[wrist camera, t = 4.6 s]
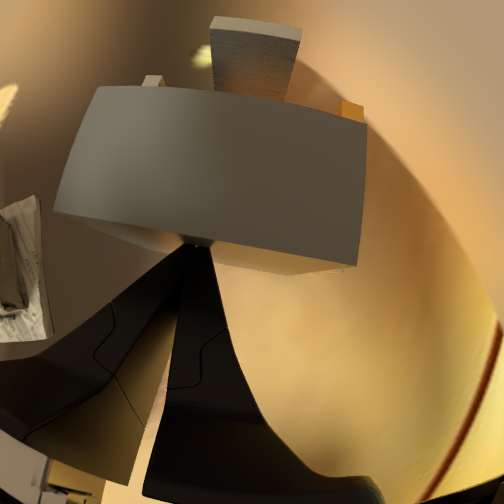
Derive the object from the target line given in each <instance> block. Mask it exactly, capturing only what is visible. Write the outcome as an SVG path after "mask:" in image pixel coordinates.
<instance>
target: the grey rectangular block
mask: <svg viewBox="0 0 504 504" xmlns="http://www.w3.org/2000/svg"><path fill="white" fill-rule="evenodd" d="M366 146H367V124H365V123H362V122H358V121H355V120H352V119H348V118H345V117H342V116H338V115H334V114H331V113H327V112H323V111H319V110H315V109H311V108H307V107H303V106H299V105H294V104H290V103H285V102H280V101H275V100H270V99H264V98H259V97H253V96H247V95H240V94H233V93H226V92H218V91H208V90H199V89H187V88H173V87H155V86H102V87H98V89H97V91H96V93H95V95H94V97H93V99H92V101H91V103H90V105H89V108H88V110H87V112H86V115H85V117H84V119H83V122H82V124H81V126H80V129H79V131H78V134H77V136H76V139H75V141H74V144H73V147H72V149H71V152H70V155H69V158H68V161H67V164H66V167H65V170H64V173H63V176H62V179H61V183H60V186H59V189H58V193H57V196H56V200H55V203H54V207H53V211H54V212H56V213H58V214H61V215H63V216H66V217H68V218H71V219H73V220H75V221H78V222H80V223H83V224H85V225H88V226H90V227H93V228H95V229H97V230H100V231H103V232H105V233H108V234H110V235H113V236H115V237H118V238H120V239H123V240H125V241H128V242H130V243H133V244H136V245H138V246H141V247H143V248H146V249H149V250H153V251H158V252H163V253H168V254H170V253H172V252H173V251H174V250H175V249H177V248H178V247H179V246H181V245H182V244H184V243H186V244H191V245H196V247H197V246H202V247H208V248H210V250H211V254H212V259H213V262H215V263H220V264H226V265H231V266H237V267H242V268H248V269H253V270H259V271H264V272H270V273H275V274H281V275H294V274H302V273H310V272H318V271H326V270H333V269H341V268H348V267H355V266H357V258H358V251H359V242H360V233H361V224H362V213H363V201H364V188H365V171H366Z"/></svg>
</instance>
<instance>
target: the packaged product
mask: <svg viewBox="0 0 504 504" xmlns="http://www.w3.org/2000/svg"><path fill="white" fill-rule="evenodd" d="M54 334H55V331H54V326H53V321H52V316H51V312H50V306H49V300H48V295H47V288H46V281H45V273H44V263H43V252H42V238H41V200H39V199H38V198H37V197H36V196H34V195H33V196H31V197H29V198H27V199H25V200H22V201H19V202H15V203H13V204H11V205H9V206H7V207H5V208H4V209H2V210H0V343H1V342H16V341H32V340H41V339H47V338H49V337H50V336H52V335H54Z"/></svg>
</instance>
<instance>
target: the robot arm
mask: <svg viewBox="0 0 504 504" xmlns="http://www.w3.org/2000/svg"><path fill="white" fill-rule="evenodd" d="M171 350H172V355H171V362H170V369H169V376H168V384H167V392H166V400H165V405H164V410H163V414H162V418H161V421H160V425H159V428H158V432H157V435H156V439H155V442H154V446H153V449H152V453H151V457H150V460H149V464H148V468H147V472H146V475H145V479H144V483H143V489H142V495H143V496H145V497H148V498H152V499H155V500H159V501H163V502H168V503H172V504H385V500H384V497H383V495H382V493H381V491H380V490H379V489H378V487H377V486H376V484H375V483H374V482H373V480H372V479H371V478H370V477H369V476H346V477H327V476H324V475H320V474H318V473H316V472H314V471H313V470H312V469H310V468H309V467H308V466H307V465H306V464H305V463H304V462H303V461H302V460H301V459H300V458H299V457H298V456H297V455H296V454H295V453H294V452H293V451H292V450H291V449H290V448H289V447H288V446H287V445H286V443H285V442H284V441H283V440H282V439H281V438H280V437H279V436H278V435H277V434H276V433H275V432H274V430H273V429H272V428H271V427H270V426H269V424H268V423H267V422H266V420H265V418H264V417H263V415H262V413H261V411H260V409H259V407H258V405H257V403H256V401H255V399H254V397H253V394H252V392H251V390H250V388H249V385H248V383H247V381H246V379H245V376H244V374H243V372H242V370H241V367H240V364H239V362H238V359H237V357H236V354H235V351H234V347H233V344H232V340H231V337H230V332H229V329H228V325H227V321H226V316H225V312H224V308H223V304H222V299H221V295H220V291H219V286H218V282H217V277H216V273H215V268H214V264H213V259H212V254H211V250H210V248H208V247H202V246H197V247H196V245H191V244H186V243H184V244H182V245H181V246H179V247H178V248H177V249H175V250H174V251H173V252H172V253H170V254H169V255H168V256H166V257H165V258H164V259H163V260H161V261H160V262H159V263H158V264H156V265H155V266H154V267H152V268H151V269H150V270H149V271H148V272H146V273H145V274H144V275H143V276H141V277H140V278H139V279H138V280H136V281H135V282H134V283H132V284H131V285H130V286H129V287H128V288H126V289H125V290H124V291H123V292H121V293H120V294H119V295H118V296H117V297H115V298H114V299H113V300H112V301H111V303H108V304H107V305H106V306H105V307H103V308H102V309H101V310H100V311H98V312H97V313H96V314H95V315H93V316H92V317H91V318H90V319H88V320H87V321H85V322H84V323H83V324H81V325H80V326H79V327H77V328H76V329H74V330H73V331H71V332H70V333H68V334H67V335H66V336H64V337H63V338H61V339H60V340H58V341H57V342H55V343H54V344H53V345H51V346H50V347H48V348H47V349H45V350H44V351H42V352H41V353H39V354H37V355H35V356H32V357H29V358H24V359H15V360H5V361H0V504H101V502H102V497H103V492H104V488H105V484H106V480H108V481H111V482H114V483H118V484H121V485H125V486H128V483H129V480H130V477H131V473H132V470H133V466H134V463H135V460H136V456H137V453H138V450H139V447H140V443H141V440H142V437H143V434H144V431H145V429H144V428H145V427H146V424H147V421H148V418H149V415H150V412H151V409H152V406H153V403H154V400H155V397H156V394H157V391H158V388H159V385H160V382H161V379H162V376H163V373H164V370H165V367H166V364H167V362H168V359H169V356H170V353H171ZM416 504H504V474H501V475H499V476H497V477H494V478H492V479H490V480H487V481H485V482H482V483H479V484H477V485H474V486H471V487H468V488H466V489H463V490H460V491H456V492H453V493H450V494H447V495H443V496H440V497H436V498H433V499H430V500H426V501H423V502H419V503H416Z"/></svg>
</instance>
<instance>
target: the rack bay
mask: <svg viewBox="0 0 504 504" xmlns="http://www.w3.org/2000/svg"><path fill="white" fill-rule="evenodd" d="M209 33H210V45H211V57H212V68H213V80H214V91H218V92H226V93H233V94H240V95H247V96H253V97H259V98H264V99H270V100H275V101H280V102H284V98H285V95H286V91H287V87H288V84H289V80H290V77H291V73H292V69H293V66H294V62H295V59H296V55H297V52H298V48H299V44H300V40H301V33H302V29H301V28H296V27H292V26H287V25H281V24H276V23H270V22H263V21H257V20H248V19H240V18H230V17H218V16H215V17H214V20H213V21H212V23H211V26H210V28H209ZM142 86H155V87H166V86H165V83H164V80H163V77H162V76H153V75H150V76H149V75H147V76H146V77H145V80H144V82H143V84H142ZM334 115H338V116H342V117H345V118H348V119H352V120H355V121H358V122H362V123H363V106H360V105H357V104H354V103H350V102H347V101H344V100H342V102H341V103H340V105H339V106H338V108H337V110H336V112H335V113H334ZM343 269H344V268H341V269H333V270H326V271H318V272H310V273H316V274H326V273H337V272H343Z"/></svg>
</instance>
